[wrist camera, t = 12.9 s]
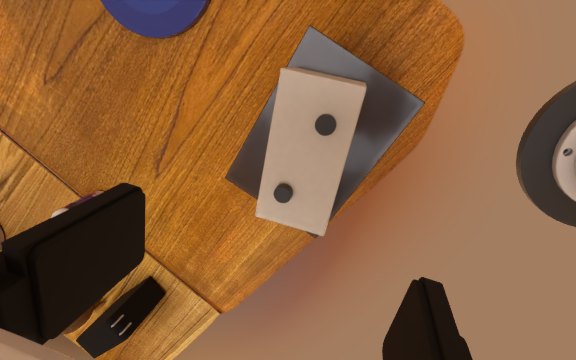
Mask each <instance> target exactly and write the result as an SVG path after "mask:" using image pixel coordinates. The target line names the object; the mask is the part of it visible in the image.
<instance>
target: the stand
mask: <svg viewBox="0 0 576 360" xmlns="http://www.w3.org/2000/svg"><path fill="white" fill-rule="evenodd" d="M287 67H297V68H302V69H306V70H311V71H315V72H320V73H324V74H329V75H333V76H338V77H342V78H347V79H351V80H356V81H360V82H365V83H366V86H367V89H366V93H365V96H364V100H363V103H362V107H361V110H360V114H359V117H358V121H357V124H356V128H355V131H354V135H353V138H352V141H351V145H350V148H349V152H348V155H347V159H346V162H345V166H344V169H343V173H342V176H341V180H340V183H339V186H338V190H337V193H336V197H335V200H334V204H333V207H332V211H331V214H330V218H329V221H328V223H329V222H330V220H331V219H332V218H333V217H334V215H335V214H336V213H337V212H338V210H339V209H340V208H341V207H342V205H343V204H344V203H345V202H346V201H347V199H348V198H349V197H350V196H351V194H352V193H353V192H354V191H355V189H356V188H357V187H358V186H359V184H360V183H361V182H362V181H363V180H364V178H365V177H366V176H367V175H368V173H369V172H370V171H371V170H372V168H373V167H374V166H375V165H376V163H377V162H378V161H379V160H380V158H381V157H382V156H383V155H384V154H385V152H386V151H387V150H388V149H389V147H390V146H391V145H392V144H393V142H394V141H395V140H396V139H397V137H398V136H399V135H400V134H401V133H402V131H403V130H404V129H405V128H406V126H407V125H408V124H409V123H410V121H411V120H412V119H413V118H414V116H415V115H416V114H417V113H418V111H419V110H420V109H421V108H422V107H423V105H424V104H425V102H424V101H422V100H421V99H419V98H418V97H416V96H415V95H413V94H412V93H410V92H409V91H407V90H406V89H404V88H403V87H401V86H400V85H398V84H397V83H395V82H394V81H392V80H391V79H389V78H388V77H387V76H385V75H384V74H382V73H381V72H379V71H378V70H376V69H375V68H373V67H372V66H370V65H369V64H367V63H366V62H364V61H363V60H361V59H360V58H358V57H357V56H355V55H354V54H352V53H351V52H349V51H348V50H346V49H345V48H343V47H342V46H340V45H339V44H337V43H336V42H334V41H333V40H331V39H330V38H328V37H327V36H325V35H324V34H323V33H321V32H320V31H318V30H317V29H315V28H314V27H312V26H311V25H309V27H308V29H307V31H306V32H305V34H304V36H303V38H302V40H301V41H300V43H299V45H298V47H297V49H296V50H295V52H294V54H293V56H292V58H291V59H290V61H289V63H288V65H287ZM287 67H286V68H287ZM277 87H278V83H277V85H276V86H275V88H274V90H273V92H272V94H271V95H270V97H269V99H268V101H267V103H266V104H265V106H264V108H263V110H262V112H261V113H260V115H259V117H258V119H257V121H256V122H255V124H254V126H253V128H252V130H251V131H250V133H249V135H248V137H247V139H246V140H245V142H244V144H243V146H242V148H241V150H240V151H239V153H238V155H237V157H236V159H235V160H234V162H233V164H232V166H231V168H230V169H229V171H228V173H227V175H226V177H225V179H227V180H228V181H230V182H231V183H233V184H235V185H236V186H238V187H239V188H241V189H242V190H244V191H245V192H247V193H248V194H250V195H251V196H253V197H254V198H256V199H257V200H258V196H259V190H260V185H261V179H262V173H263V168H264V162H265V156H266V150H267V145H268V139H269V133H270V127H271V122H272V116H273V110H274V104H275V99H276V93H277ZM305 232H307V231H305ZM307 233H308V234H310V235H311V236H313V237H314V238H317V236H318V235H317V234H314V233H311V232H307Z"/></svg>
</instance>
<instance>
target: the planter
mask: <svg viewBox="0 0 576 360" xmlns="http://www.w3.org/2000/svg"><path fill="white" fill-rule="evenodd" d="M3 241H4V233H3V230H2V228H1V226H0V249H1V248H2V245H1V242H3Z"/></svg>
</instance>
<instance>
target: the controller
mask: <svg viewBox="0 0 576 360" xmlns="http://www.w3.org/2000/svg"><path fill="white" fill-rule="evenodd" d="M366 89H367V86H366V83H365V82H360V81H356V80H351V79H347V78H342V77H338V76H333V75H329V74H324V73H320V72H315V71H311V70H306V69H302V68H297V67H287V68H281V70H280V76H279V81H278V87H277V93H276V99H275V104H274V110H273V116H272V122H271V127H270V133H269V139H268V145H267V150H266V156H265V162H264V168H263V173H262V179H261V185H260V190H259V196H258V202H257V208H256V213H255V216H256V217H260V218H263V219H267V220H270V221H273V222H277V223H280V224H283V225H287V226H290V227H294V228H297V229H300V230H304V231H307V232H311V233H314V234H317V235H321V236H324V235H325V231H326V228H327V225H328V221H329V218H330V214H331V211H332V207H333V204H334V200H335V197H336V193H337V190H338V186H339V183H340V180H341V176H342V173H343V169H344V166H345V162H346V159H347V155H348V152H349V148H350V145H351V141H352V138H353V135H354V131H355V128H356V124H357V121H358V117H359V114H360V110H361V107H362V103H363V100H364V96H365V93H366Z"/></svg>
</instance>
